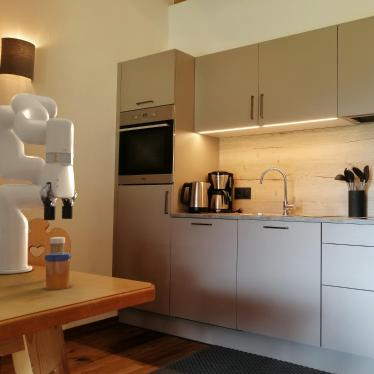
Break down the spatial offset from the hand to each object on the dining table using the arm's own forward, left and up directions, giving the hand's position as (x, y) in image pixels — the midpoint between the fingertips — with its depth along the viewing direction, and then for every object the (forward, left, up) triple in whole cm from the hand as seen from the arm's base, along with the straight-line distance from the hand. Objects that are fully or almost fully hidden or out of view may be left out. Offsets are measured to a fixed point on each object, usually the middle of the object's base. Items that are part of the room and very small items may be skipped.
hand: (58, 219), depth 124 cm
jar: (0, 0, -20) cm, 20 cm away
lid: (0, 0, -10) cm, 10 cm away
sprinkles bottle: (-14, +7, -20) cm, 26 cm away
